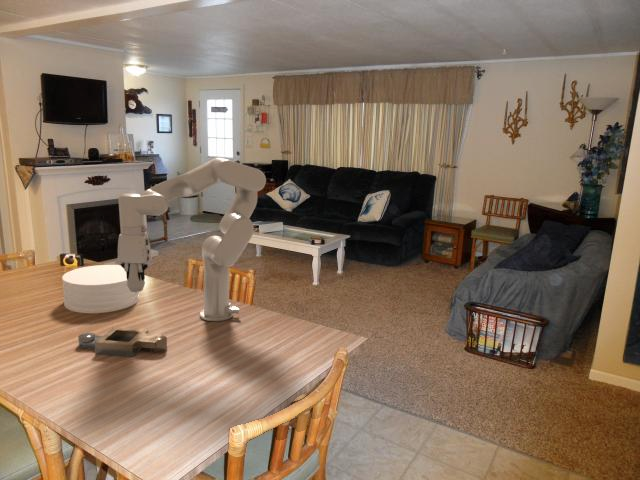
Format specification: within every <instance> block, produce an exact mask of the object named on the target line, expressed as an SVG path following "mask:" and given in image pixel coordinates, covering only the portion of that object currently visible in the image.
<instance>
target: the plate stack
mask: <svg viewBox="0 0 640 480" xmlns="http://www.w3.org/2000/svg"><path fill="white" fill-rule="evenodd" d="M61 279H62V294H63V306H64V308H65V309H67V310H69V311H71V312H75V313H83V314H99V313H110V312H116V311H119V310H120V311H121V310H124V309H126V308H129V307H131V306H134V305H136V303H138V302H139V301H140V292H131V291H130V289H129V288H128V286H127V282H128V280H127V275H126V271H125V269H124V268H122V267H121V265H118V264H98V265H97V264H96V265H89V266H84V267H78V268H75V269H73V270H69V271H67V272H65V273H64V274H63V275H62V276H61Z"/></svg>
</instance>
